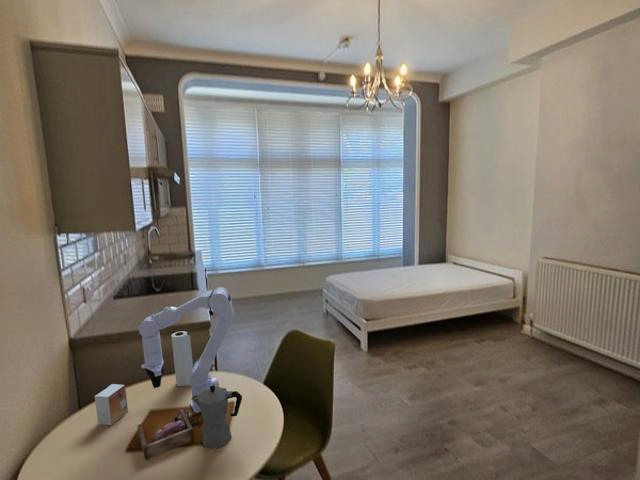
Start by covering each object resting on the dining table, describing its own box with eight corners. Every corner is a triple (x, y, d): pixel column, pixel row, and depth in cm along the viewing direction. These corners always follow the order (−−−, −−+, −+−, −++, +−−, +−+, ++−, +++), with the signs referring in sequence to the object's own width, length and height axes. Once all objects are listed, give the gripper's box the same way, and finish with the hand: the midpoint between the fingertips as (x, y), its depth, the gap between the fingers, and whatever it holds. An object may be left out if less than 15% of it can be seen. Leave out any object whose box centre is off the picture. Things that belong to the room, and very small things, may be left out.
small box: (111, 426, 119) (107, 397, 118) (97, 424, 120) (93, 396, 119) (128, 411, 127) (125, 384, 125) (115, 410, 128) (112, 383, 127)
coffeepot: (191, 452, 105) (185, 396, 103) (199, 431, 115) (194, 379, 112) (242, 447, 106) (238, 392, 104) (247, 427, 116) (243, 376, 113)
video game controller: (154, 453, 108) (156, 439, 105) (149, 440, 110) (150, 427, 107) (186, 436, 115) (188, 423, 112) (180, 425, 117) (182, 412, 114)
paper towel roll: (174, 382, 146) (169, 333, 143) (189, 377, 149) (184, 329, 146) (179, 389, 140) (174, 338, 137) (194, 384, 143) (189, 334, 140)
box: (183, 419, 121) (182, 408, 120) (193, 440, 110) (192, 428, 110) (138, 436, 113) (137, 425, 113) (145, 460, 103) (143, 448, 102)
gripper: (137, 346, 127) (141, 381, 129) (143, 361, 115) (147, 400, 117) (158, 341, 131) (162, 375, 133) (166, 355, 119) (170, 392, 121)
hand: (156, 386), depth 125 cm, fingers closed
